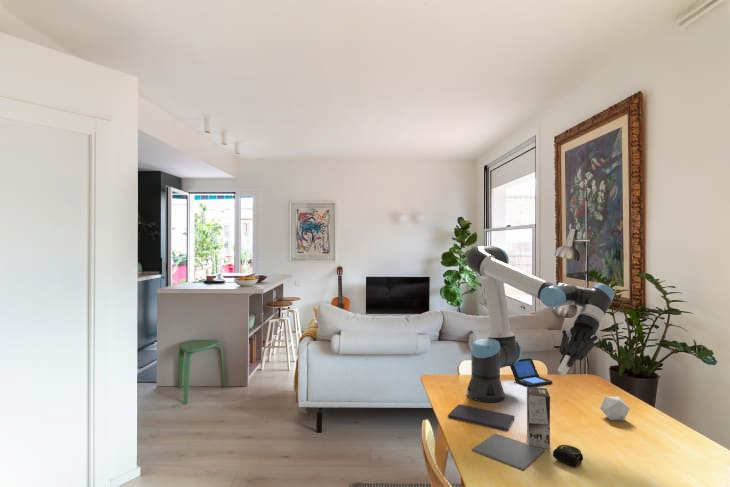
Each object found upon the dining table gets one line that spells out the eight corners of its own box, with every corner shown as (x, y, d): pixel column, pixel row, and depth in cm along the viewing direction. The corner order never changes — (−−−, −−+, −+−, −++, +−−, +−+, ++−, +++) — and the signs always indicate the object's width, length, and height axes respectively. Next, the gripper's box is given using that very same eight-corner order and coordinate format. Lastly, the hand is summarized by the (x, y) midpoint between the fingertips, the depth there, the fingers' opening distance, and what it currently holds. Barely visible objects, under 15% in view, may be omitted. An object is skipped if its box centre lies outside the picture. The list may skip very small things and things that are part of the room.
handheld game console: (529, 388, 182) (529, 368, 182) (507, 380, 194) (507, 360, 194) (553, 384, 189) (553, 364, 189) (531, 376, 201) (531, 357, 201)
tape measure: (551, 460, 118) (551, 447, 118) (564, 454, 122) (564, 441, 122) (574, 471, 112) (574, 457, 112) (587, 464, 116) (587, 450, 116)
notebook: (447, 418, 148) (507, 432, 137) (447, 414, 148) (507, 428, 137) (458, 407, 159) (515, 420, 148) (458, 403, 159) (515, 415, 148)
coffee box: (550, 449, 124) (550, 397, 125) (528, 446, 126) (528, 394, 127) (547, 436, 133) (547, 387, 133) (526, 433, 135) (526, 385, 136)
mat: (471, 450, 123) (471, 448, 123) (495, 434, 134) (495, 433, 134) (523, 470, 112) (523, 468, 112) (544, 451, 123) (544, 449, 123)
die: (628, 427, 142) (637, 402, 146) (605, 413, 144) (614, 389, 147) (615, 426, 150) (623, 403, 153) (593, 413, 152) (601, 390, 155)
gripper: (611, 329, 141) (584, 385, 132) (575, 324, 152) (548, 374, 143) (603, 315, 139) (575, 371, 130) (567, 311, 150) (539, 361, 141)
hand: (561, 373), depth 136 cm, fingers closed
